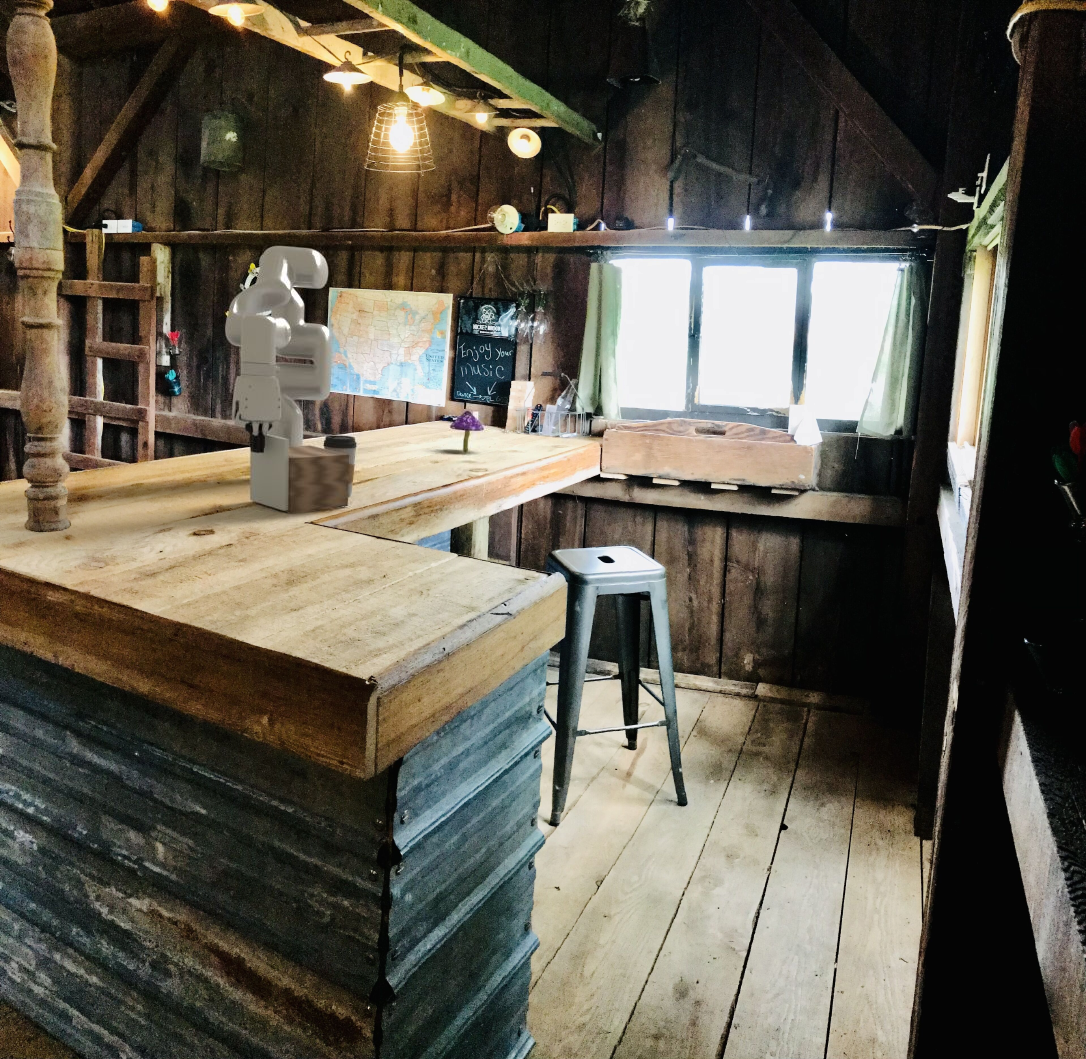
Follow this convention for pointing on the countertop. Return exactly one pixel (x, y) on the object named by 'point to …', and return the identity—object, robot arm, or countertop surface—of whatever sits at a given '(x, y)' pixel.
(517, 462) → the countertop surface
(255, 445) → the robot arm
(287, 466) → the grey drawer
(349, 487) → the coffee cup
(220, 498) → the countertop surface
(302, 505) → the housing
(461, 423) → the decorative mushroom
